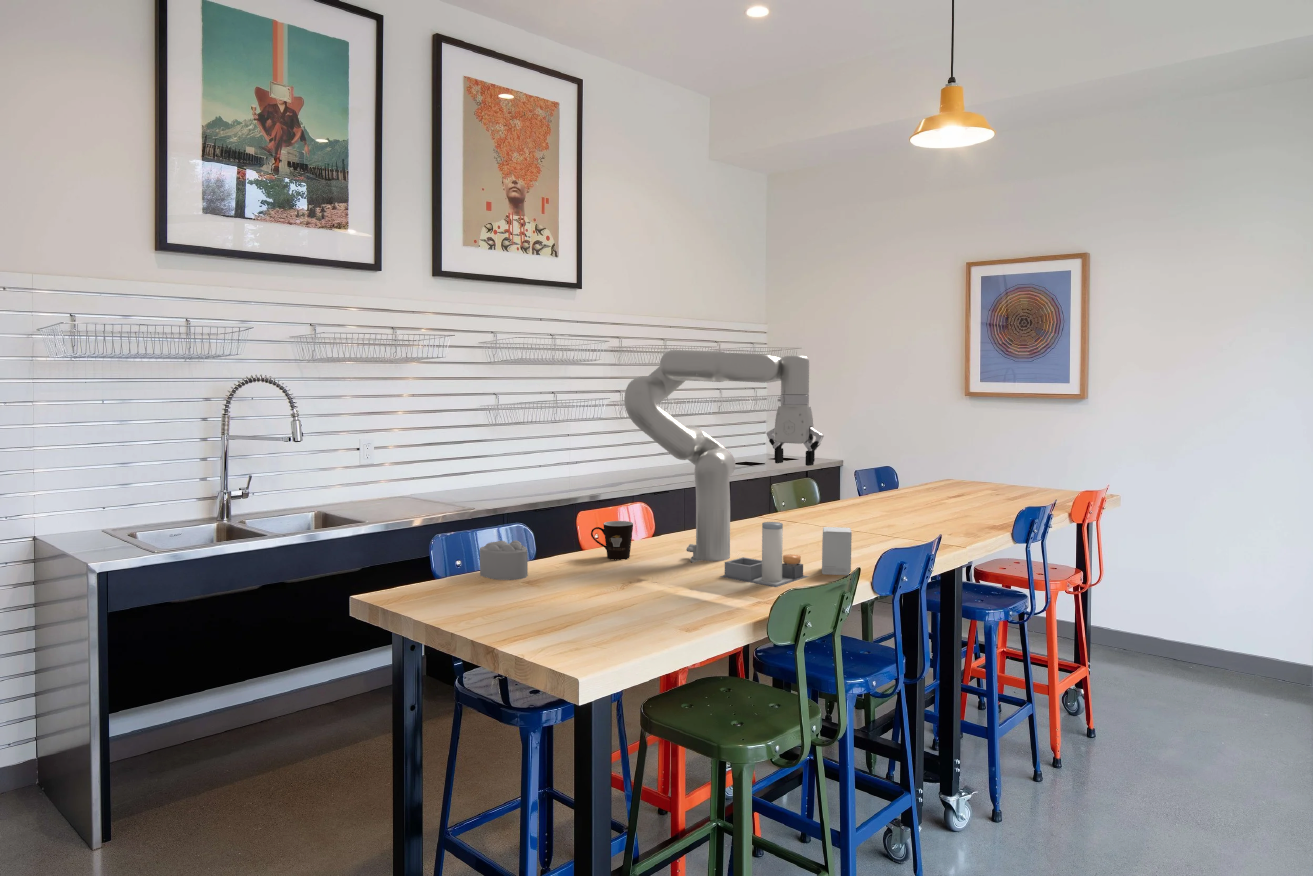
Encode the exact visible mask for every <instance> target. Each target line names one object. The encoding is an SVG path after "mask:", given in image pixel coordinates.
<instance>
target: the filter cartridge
mask: <svg viewBox="0 0 1313 876" xmlns="http://www.w3.org/2000/svg"><path fill="white" fill-rule="evenodd" d="M761 526H762V527H761V534H762V536H761V560H762V580H763V581H767V582H779V581H782V564H783V541H784V540H783V539H784V538H783V535H784V534H783V532H784V529H783V528H784V527H783V526H784V525H783V523H782V522H779V521H777V522H776V521H764V522H762V524H761Z"/></svg>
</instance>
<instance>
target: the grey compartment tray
mask: <svg viewBox="0 0 1313 876" xmlns="http://www.w3.org/2000/svg"><path fill="white" fill-rule="evenodd" d="M719 577H720V578H724V579H731V580H735V581H739V582H746V583H752V584H757V585H762V586H767V587H772V588H779V587H782V586H783V585H788V584H790V583H793V582H796V581H799V580H800V581H801V580H802V579H805V578H808V577H809V576H808V575H804V564H803V563H798V564H797V565H796V566H789V565H787V563H784V562H782V581H779V582H767V581H763V580H762V559H756V558H751V557H739V558H735V559H731V560H728V561H727V560H726V561H725V562H724V574H723V575H720V576H719Z"/></svg>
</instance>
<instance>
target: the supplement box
mask: <svg viewBox="0 0 1313 876" xmlns="http://www.w3.org/2000/svg"><path fill="white" fill-rule="evenodd" d="M852 534H853V533H852V529H851V527H836V526H831V527H830V526H824V527H822V545H821V546H822V547H821V549H822V550H821V573H822V575H831V576H832V575H835V576H836V575H837V576H850V575H849V573H850V572H851V573H852V539H853V538H852V536H853V535H852Z"/></svg>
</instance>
